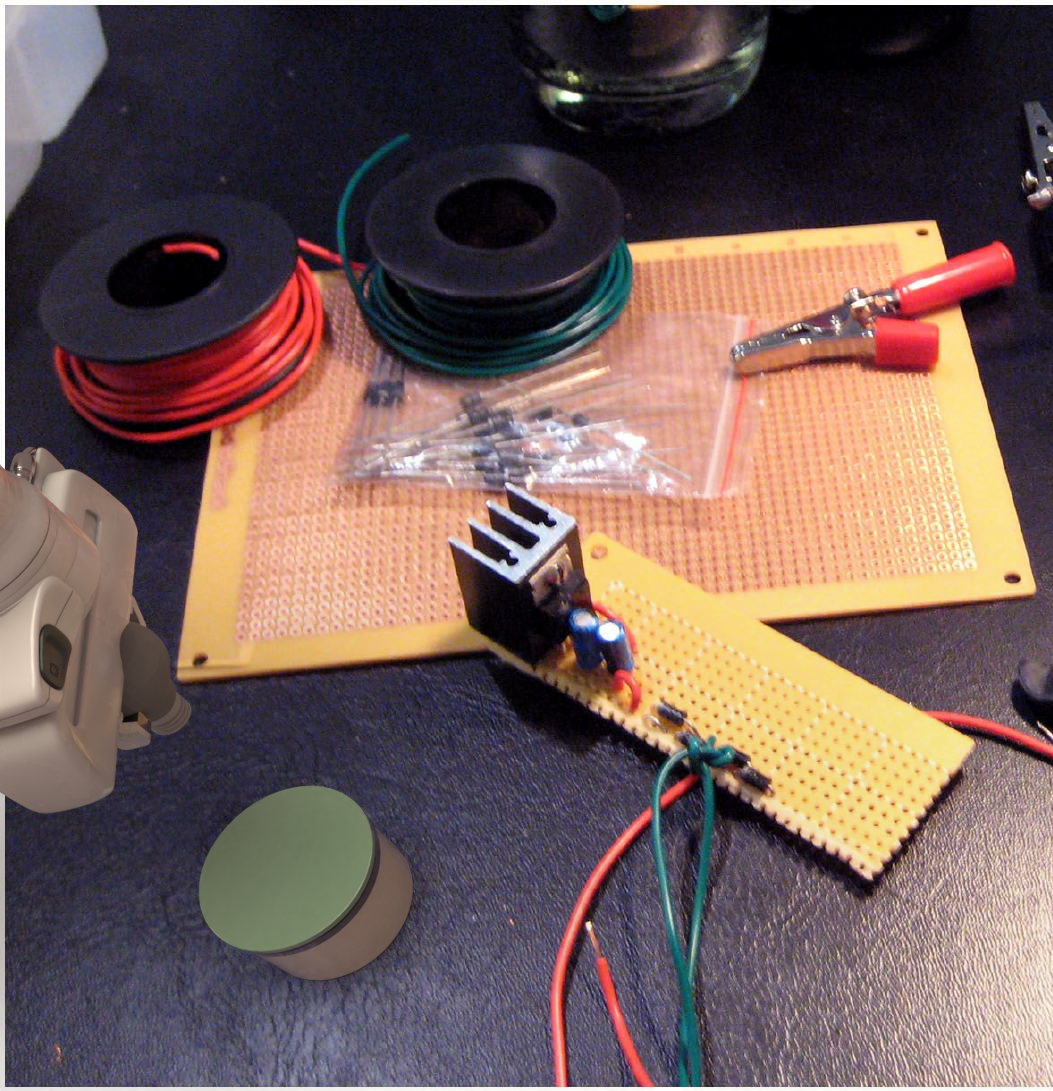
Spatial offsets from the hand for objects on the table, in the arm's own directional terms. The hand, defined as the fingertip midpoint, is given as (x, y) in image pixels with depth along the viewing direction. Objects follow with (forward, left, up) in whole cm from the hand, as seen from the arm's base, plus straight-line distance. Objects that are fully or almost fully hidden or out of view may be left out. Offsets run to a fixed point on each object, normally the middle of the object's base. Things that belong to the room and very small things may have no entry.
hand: (142, 695), depth 75 cm
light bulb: (0, 0, -4) cm, 4 cm away
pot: (+3, -7, -22) cm, 23 cm away
